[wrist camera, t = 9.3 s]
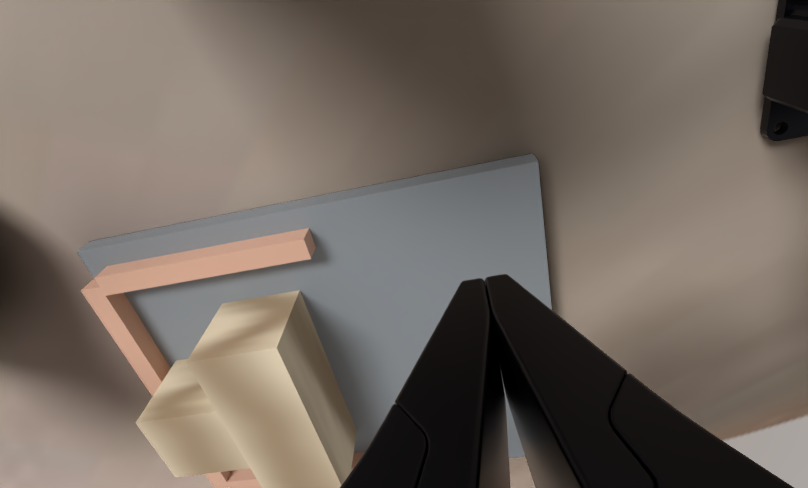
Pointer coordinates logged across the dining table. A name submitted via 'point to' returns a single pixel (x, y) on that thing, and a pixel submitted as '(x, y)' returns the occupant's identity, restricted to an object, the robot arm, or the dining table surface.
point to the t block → (255, 400)
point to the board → (329, 276)
